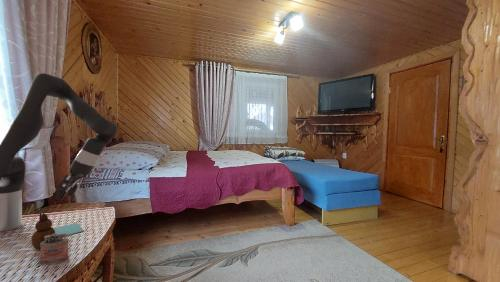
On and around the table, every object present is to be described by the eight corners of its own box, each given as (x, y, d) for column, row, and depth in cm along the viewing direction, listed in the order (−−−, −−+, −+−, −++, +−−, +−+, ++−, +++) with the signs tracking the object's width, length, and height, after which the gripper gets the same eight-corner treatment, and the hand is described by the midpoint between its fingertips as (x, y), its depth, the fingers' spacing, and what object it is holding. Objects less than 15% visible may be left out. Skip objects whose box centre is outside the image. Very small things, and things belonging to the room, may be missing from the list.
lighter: (38, 266, 77) (38, 238, 77) (42, 260, 80) (42, 233, 80) (66, 261, 81) (67, 234, 80) (69, 256, 84) (70, 230, 83)
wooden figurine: (39, 253, 85) (40, 214, 84) (28, 250, 86) (28, 212, 85) (58, 244, 91) (58, 208, 90) (47, 242, 92) (47, 206, 92)
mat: (47, 230, 102) (47, 229, 102) (76, 223, 110) (76, 222, 110) (52, 239, 94) (52, 238, 94) (83, 231, 103) (83, 230, 103)
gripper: (83, 157, 101) (63, 191, 98) (67, 158, 87) (43, 197, 84) (100, 164, 102) (81, 197, 99) (87, 166, 89) (64, 204, 86)
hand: (64, 197), depth 92 cm, fingers open, 8 cm apart
